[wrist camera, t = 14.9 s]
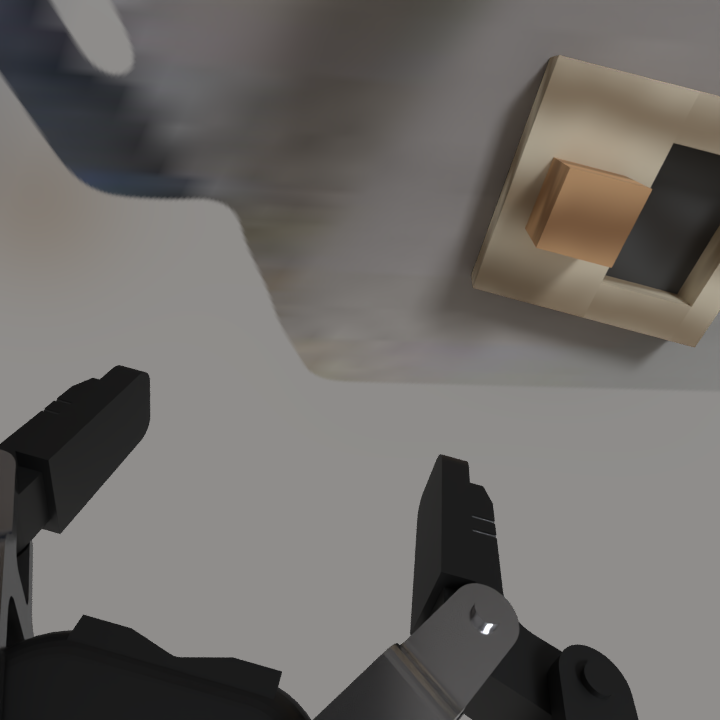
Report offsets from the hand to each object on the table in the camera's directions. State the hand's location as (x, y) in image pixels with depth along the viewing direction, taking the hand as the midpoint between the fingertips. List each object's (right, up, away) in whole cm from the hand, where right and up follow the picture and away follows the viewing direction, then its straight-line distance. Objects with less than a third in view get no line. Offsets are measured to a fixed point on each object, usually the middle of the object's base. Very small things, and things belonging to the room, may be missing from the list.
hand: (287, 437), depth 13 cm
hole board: (+22, +14, +23) cm, 35 cm away
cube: (+17, +13, +21) cm, 30 cm away
